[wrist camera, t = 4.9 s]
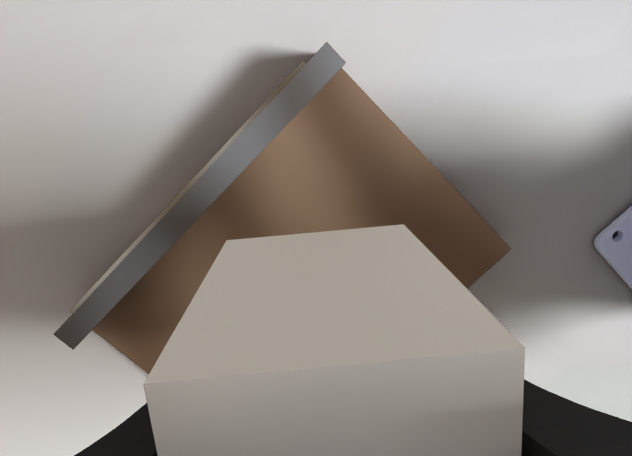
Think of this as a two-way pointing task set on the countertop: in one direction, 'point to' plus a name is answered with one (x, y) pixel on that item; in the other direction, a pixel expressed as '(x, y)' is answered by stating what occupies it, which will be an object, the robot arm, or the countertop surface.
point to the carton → (336, 355)
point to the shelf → (283, 206)
